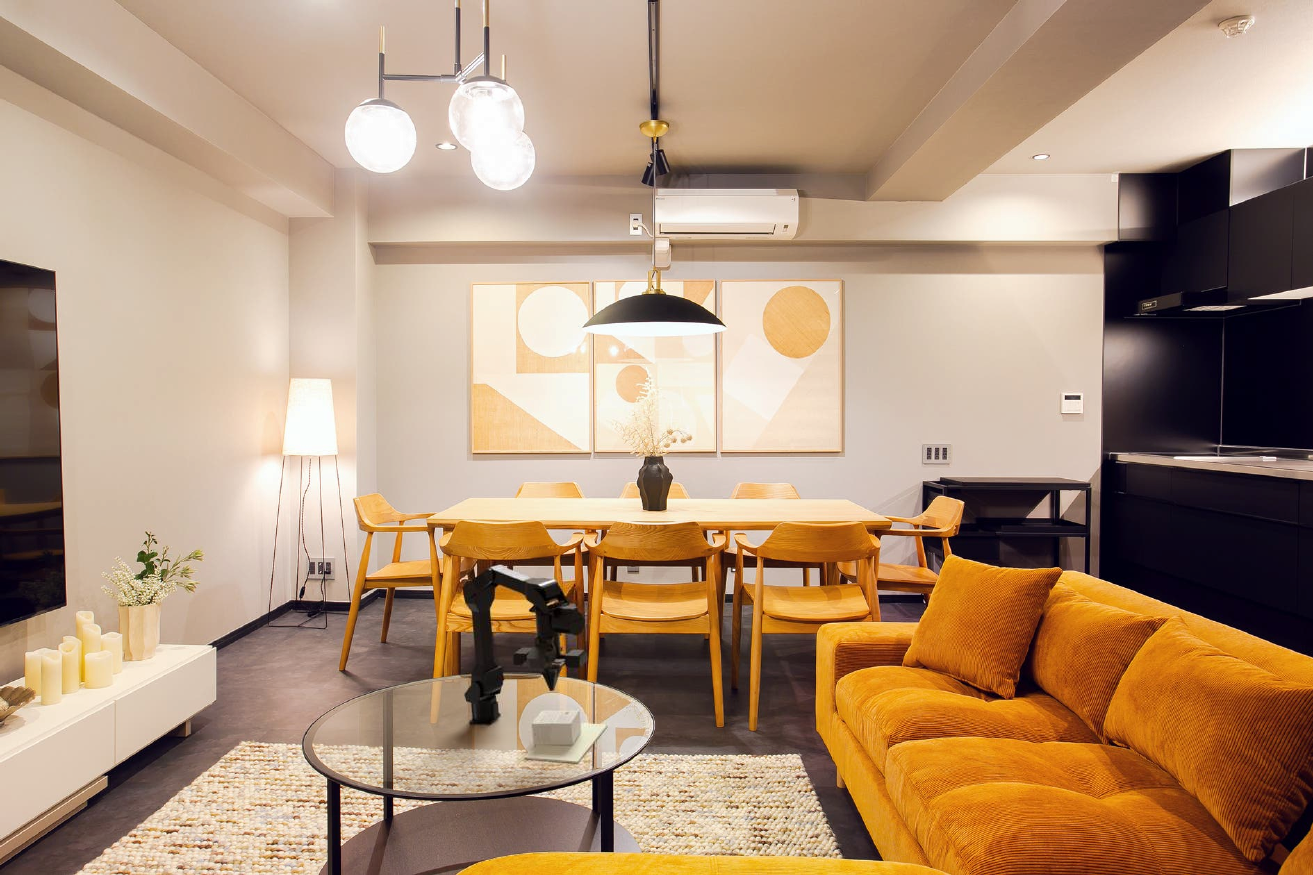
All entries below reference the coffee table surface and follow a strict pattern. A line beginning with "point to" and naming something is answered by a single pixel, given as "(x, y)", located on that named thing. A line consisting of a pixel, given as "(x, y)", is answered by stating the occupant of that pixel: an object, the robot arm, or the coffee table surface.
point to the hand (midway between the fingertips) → (552, 690)
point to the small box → (556, 728)
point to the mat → (569, 746)
